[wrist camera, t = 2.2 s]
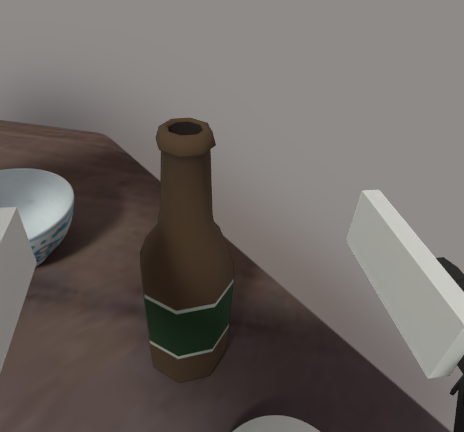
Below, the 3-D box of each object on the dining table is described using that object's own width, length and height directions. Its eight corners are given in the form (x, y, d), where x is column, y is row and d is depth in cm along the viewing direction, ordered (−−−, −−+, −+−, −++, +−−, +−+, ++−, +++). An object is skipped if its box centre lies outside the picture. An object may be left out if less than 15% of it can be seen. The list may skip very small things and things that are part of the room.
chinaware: (-48, 324, 39) (-82, 271, 34) (-55, 237, 48) (-82, 186, 43) (100, 272, 45) (90, 221, 41) (68, 204, 55) (56, 157, 50)
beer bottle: (175, 403, 34) (163, 173, 19) (133, 341, 38) (97, 116, 24) (242, 355, 38) (275, 136, 23) (197, 304, 42) (200, 94, 28)
